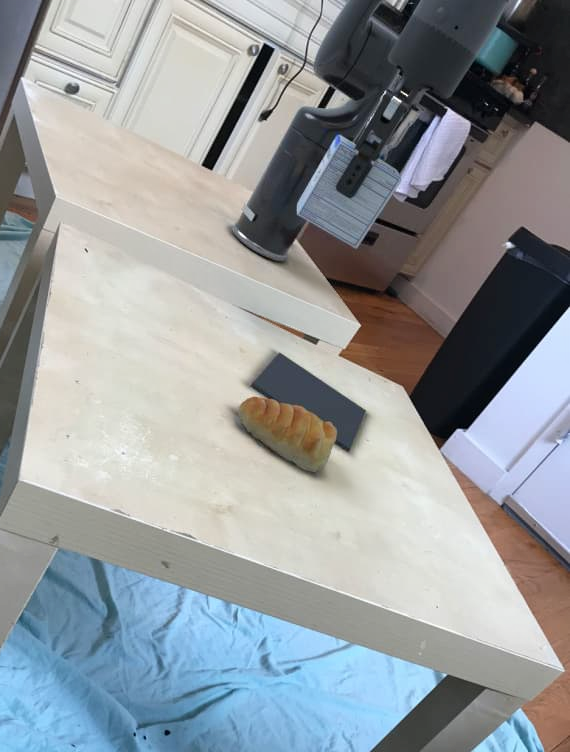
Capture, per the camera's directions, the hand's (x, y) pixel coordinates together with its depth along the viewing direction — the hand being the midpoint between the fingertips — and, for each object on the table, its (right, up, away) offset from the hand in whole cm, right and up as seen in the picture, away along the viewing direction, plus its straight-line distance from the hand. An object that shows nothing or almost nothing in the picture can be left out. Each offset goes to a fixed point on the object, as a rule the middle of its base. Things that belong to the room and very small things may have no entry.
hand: (348, 191), depth 81 cm
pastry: (-8, -28, -12) cm, 32 cm away
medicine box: (-2, -3, +2) cm, 5 cm away
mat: (-4, -23, -1) cm, 23 cm away
